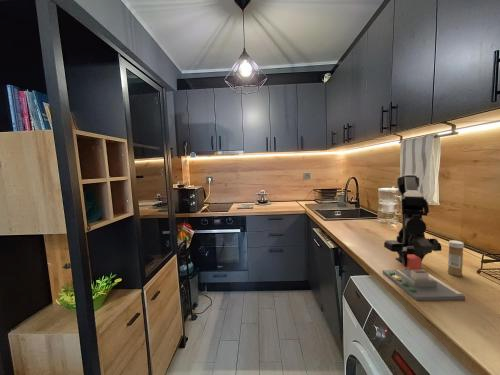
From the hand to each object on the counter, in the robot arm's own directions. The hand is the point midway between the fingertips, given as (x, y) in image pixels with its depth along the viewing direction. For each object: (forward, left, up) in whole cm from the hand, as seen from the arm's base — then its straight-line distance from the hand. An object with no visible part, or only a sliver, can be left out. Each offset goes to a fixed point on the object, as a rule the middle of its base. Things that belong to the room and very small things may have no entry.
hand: (411, 266), depth 91 cm
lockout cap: (0, 0, 0) cm, 0 cm away
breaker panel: (+5, 0, -5) cm, 7 cm away
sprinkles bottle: (-3, +20, -5) cm, 21 cm away
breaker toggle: (+5, 0, -4) cm, 6 cm away
